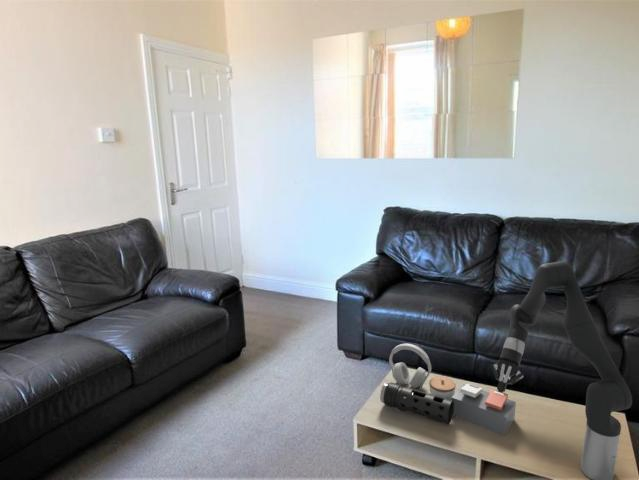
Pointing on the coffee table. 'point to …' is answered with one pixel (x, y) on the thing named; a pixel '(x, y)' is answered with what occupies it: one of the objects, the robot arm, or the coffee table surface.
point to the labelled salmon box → (496, 399)
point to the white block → (471, 390)
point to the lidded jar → (442, 387)
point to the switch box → (483, 412)
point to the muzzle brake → (417, 402)
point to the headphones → (401, 369)
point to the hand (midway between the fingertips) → (500, 391)
